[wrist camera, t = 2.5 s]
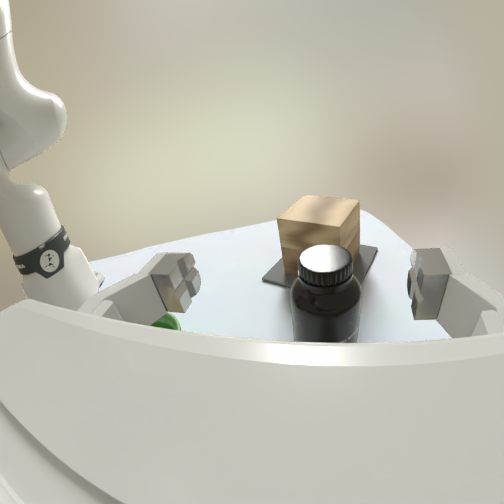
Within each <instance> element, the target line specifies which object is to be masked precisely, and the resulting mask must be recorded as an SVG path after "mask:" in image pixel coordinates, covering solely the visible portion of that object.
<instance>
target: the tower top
mask: <svg viewBox="0 0 504 504" xmlns="http://www.w3.org/2000/svg"><path fill="white" fill-rule="evenodd" d="M277 223H278V230H279V236H280V243H281V247H285V248H290V249H296V250H301V251H304V250H305V249H307V248H309V247H311V246H315V245H320V244H333V245H338V246H341V247H344V248H345V249H347V247H348V245H349V244H350V242H351V241H352V239H353V238H354V236H355V234H356V233H357V231H358V230H359V228H360V208H359V200H350V199H342V198H332V197H322V196H311V195H305V196H303V197H302V198H301V199H300V200H299V201H297V202H296V203H295V204H294V205H292V206H291V207H290V208H289V209H287V210H286V211H285V212H284V213H283V214H281V215H280V216H279V217H278V218H277Z"/></svg>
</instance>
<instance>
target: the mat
mask: <svg viewBox="0 0 504 504" xmlns="http://www.w3.org/2000/svg"><path fill="white" fill-rule="evenodd" d="M376 251H377V247H371V246H366V245H360V249H359V254H358V256H357V258H356V260H355V261H354V263H353V275H354V276H355V277H356V279H357V280H358V281H359V283H360V285H361V283H362V281H363V279H364V277H365V275H366V273H367V271H368V269H369V266H370V264H371V262H372V260H373V258H374V256H375V254H376ZM297 278H298V275H294V274H289V273H285V271H284V264H283V257H282V258H281V259H280V260H279V261H278V262H277V263H276V264H275V265H274V266H273V267H272V268H271V269H270V270H269V271H268V272H267V274H266V275H265V276H264V277H263V278H262V280H264V281H267V282H271V283H275V284H279V285H282V286H286V287H290V288H291V287H292V285H293V283H294V281H295V280H296V279H297Z"/></svg>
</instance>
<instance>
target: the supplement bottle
mask: <svg viewBox="0 0 504 504" xmlns="http://www.w3.org/2000/svg"><path fill="white" fill-rule="evenodd" d="M361 300H362V289H361V286H360V283H359V281H358V280H357V279H356V277H355V276H354V275H353V258H352V254H350V252H349V251H348V250H347V249H345V248H344V247H341V246H338V245H333V244H320V245H315V246H311V247H309V248H307V249H305V250H304V251H302V252H301V254H300V255H299V257H298V278H297V279H296V280H295V281H294V283H293V285H292V287H291V290H290V303H291V312H292V322H293V332H294V342H319V343H357V335H358V328H359V319H360V310H361Z"/></svg>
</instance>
